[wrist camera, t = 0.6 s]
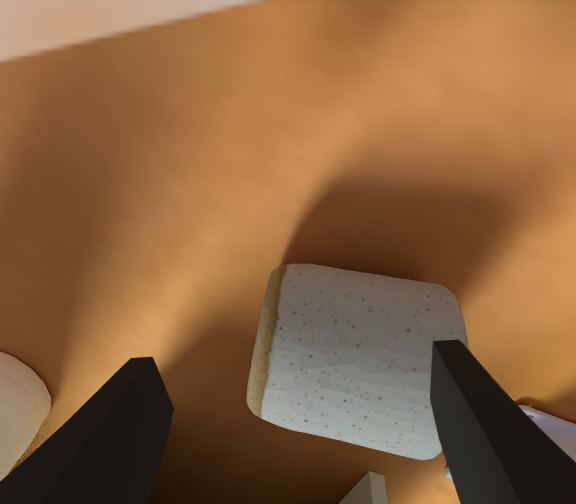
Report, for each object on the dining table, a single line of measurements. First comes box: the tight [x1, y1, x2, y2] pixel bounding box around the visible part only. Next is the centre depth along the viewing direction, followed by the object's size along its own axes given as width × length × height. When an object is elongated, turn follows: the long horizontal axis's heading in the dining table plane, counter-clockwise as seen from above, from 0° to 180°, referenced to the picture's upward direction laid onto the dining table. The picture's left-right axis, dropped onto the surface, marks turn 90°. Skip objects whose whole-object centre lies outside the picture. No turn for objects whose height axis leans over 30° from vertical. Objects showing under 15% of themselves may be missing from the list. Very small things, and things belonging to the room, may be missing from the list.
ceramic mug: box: [247, 264, 468, 460], centre depth 19 cm, size 11×8×8 cm
